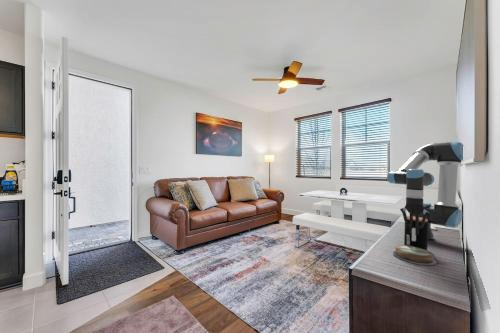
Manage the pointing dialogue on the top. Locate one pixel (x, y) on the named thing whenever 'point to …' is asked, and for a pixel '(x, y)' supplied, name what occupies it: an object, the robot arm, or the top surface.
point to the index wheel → (414, 253)
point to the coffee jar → (420, 238)
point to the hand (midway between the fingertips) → (413, 240)
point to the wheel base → (415, 262)
